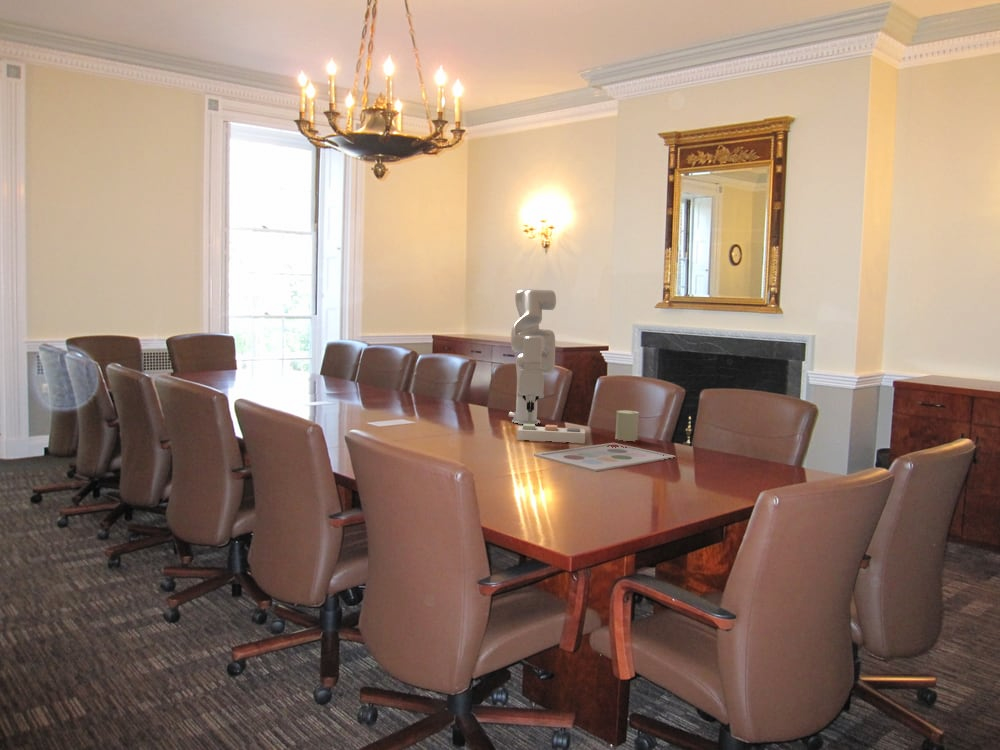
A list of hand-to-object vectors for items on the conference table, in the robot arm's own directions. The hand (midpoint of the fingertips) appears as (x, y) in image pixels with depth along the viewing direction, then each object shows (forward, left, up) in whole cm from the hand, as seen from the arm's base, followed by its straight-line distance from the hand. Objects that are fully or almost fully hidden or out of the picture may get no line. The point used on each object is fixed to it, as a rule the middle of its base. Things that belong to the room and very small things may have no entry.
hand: (530, 411), depth 338 cm
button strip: (+8, +4, -11) cm, 14 cm away
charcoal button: (+16, +8, -10) cm, 20 cm away
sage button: (0, 0, -9) cm, 9 cm away
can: (+32, +25, -11) cm, 42 cm away
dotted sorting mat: (+40, -14, -12) cm, 44 cm away
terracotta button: (+8, +4, -9) cm, 13 cm away
